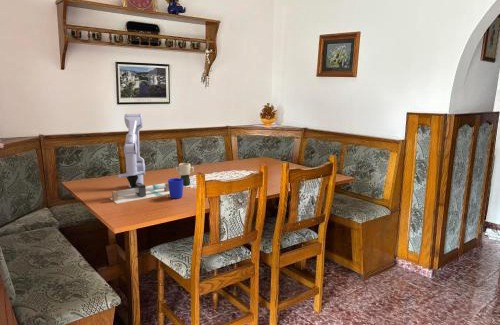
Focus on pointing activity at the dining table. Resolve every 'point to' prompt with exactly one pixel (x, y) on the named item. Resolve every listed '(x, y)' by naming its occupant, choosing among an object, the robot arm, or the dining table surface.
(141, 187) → the collar
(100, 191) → the dining table surface
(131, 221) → the dining table surface
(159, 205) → the dining table surface
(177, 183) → the mug
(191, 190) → the dining table surface
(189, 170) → the character mug
